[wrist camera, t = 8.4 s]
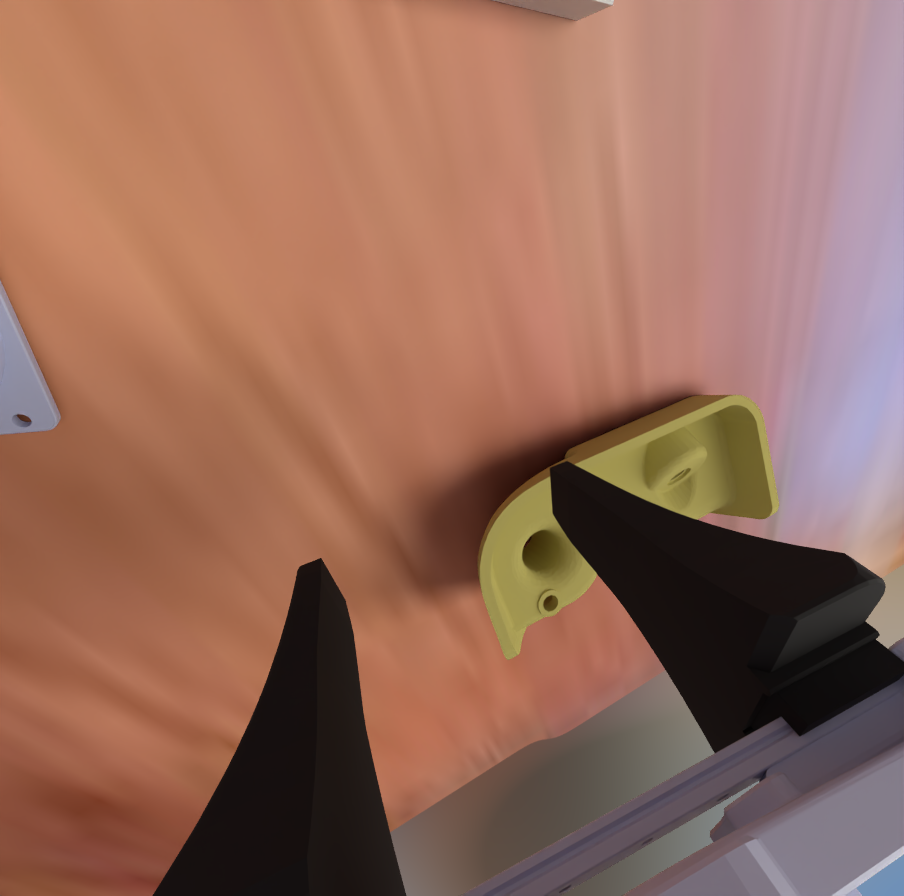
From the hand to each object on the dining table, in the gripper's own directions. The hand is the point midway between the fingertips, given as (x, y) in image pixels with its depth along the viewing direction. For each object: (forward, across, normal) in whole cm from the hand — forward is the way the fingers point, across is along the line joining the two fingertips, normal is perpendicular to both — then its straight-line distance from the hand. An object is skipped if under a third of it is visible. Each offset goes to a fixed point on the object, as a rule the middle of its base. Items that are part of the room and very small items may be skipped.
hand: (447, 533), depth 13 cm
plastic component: (+10, -11, +11) cm, 19 cm away
